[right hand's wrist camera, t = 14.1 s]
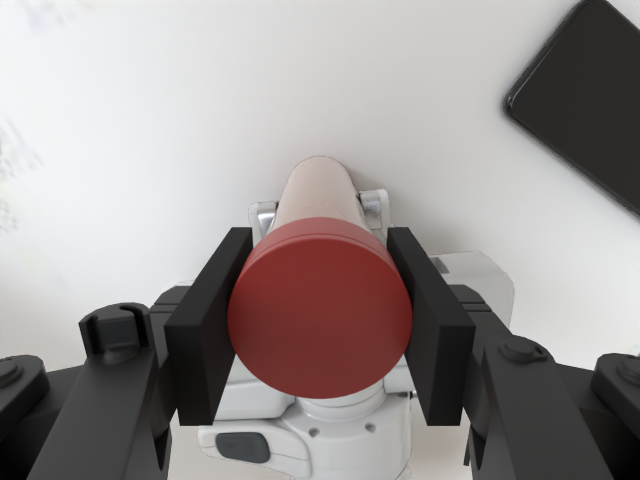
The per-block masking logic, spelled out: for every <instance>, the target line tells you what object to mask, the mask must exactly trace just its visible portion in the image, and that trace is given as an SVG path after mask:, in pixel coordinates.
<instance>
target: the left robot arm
mask: <svg viewBox="0 0 640 480" xmlns="http://www.w3.org/2000/svg"><path fill="white" fill-rule="evenodd" d="M358 198H359V200H360V203H361V205H362V208H363V210H364V213H365V215H366V218H367V220H368V223H369V225H370V228H371V229H379V230H380V232H381V233H382V235H383V236H384V237H385V239H386V240H387V229H388V227H394V226H393V224H392V223H391V214H390V199H389V194H388V192H387V191H386V189H385V188H384V189H375V190H367V191H359V192H358ZM278 205H279V201H270V202H258V203H252V204H251V206H250V207H249V212H248V213H249V222H250V227H252V232H253V248H254V247H255V246H256V245H257V244H258V243H259V242H260V241H261V240H262V239H263V238H264V237H265V236H266V235H267V232H268V230H269V227H270V225H271V222H272V220H273V217H274V215H275V212H276V210H277V207H278ZM384 246H385V248H386V245H384ZM428 257H429V258H430V260H431V261H432V263H433V264H434V266H435V267H436V268H437V270H438V271H439V273H440V274H441V276H442V277H443V279H444V280H445V281H446V283H447V284H465V285H466V286H468V287H470V288H471V289H473V290H475V291H476V292H478V293H479V294H480V296H481V297H482V298H483V299H484V300H485V302H486V304H488V305H489V306H490V308H491V309H492V311H493V312H495V314H496V315H497V316H498V317H499V319H500V320H501V321H502V322H503V323H504V325H505V326H506V327H507V328H508V329H509V324H510V320H511V314H512V309H513V302H514V285H513V282H512V280H511V279H510V277H509V276H508V275H507V274H506V272H505V271H504V270H503V269H502V268H501V267H500V266H499V265H498V264H497V263H495V262H494V261H493V260H492V259H490V258H489V257H488V256H487V255H485V254H484V253H482V252H480V251H469V252H459V253H450V254H440V255H431V256H428ZM194 281H195V280H193V281H183V282H179V283H177V284H176V285H174V286H191V285H192V284H193V282H194ZM174 286H173V287H174ZM411 398H418V396H417V393H416V390H415V387H414V384H413V381H412V378H411V375H410V372H409V369H408V366H407V363H406V359H405V356H404V354H403V356H402V357H401V359H400V360H399V362H398V363H397V364H396V365H395V367H394V368H393V369H392V370H391V371H390V372H389V373H388V374H387V375H386V376H385V377H383V378H382V379H381V380H379V381H378V382H377V383H375V384H373V385H372V386H370V387H368V388H366V389H364V390H362V391H359V392H357V393H354V394H351V395H348V396H344V397H338V398H332V399H308V398H301V397H296V396H292V395H289V394H286V393H283V392H280V391H278V390H276V389H274V388H272V387H270V386H268V385H266V384H265V383H263V382H262V381H260V380H259V379H258V378H256V377H255V376H254V375H253V374H252V373H251V372H250V371H249V370H248V369H247V368H246V367H245V366H244V365H243V363H242V362H241V361H240V359H239V358H238V356H237V354H236V356H235V359H234V362H233V365H232V368H231V371H230V374H229V377H228V380H227V383H226V386H225V389H224V392H223V395H222V398H221V401H220V404H219V407H218V410H217V413H216V416H215V419H214V422H213V425H212V426H199V430H198V435H197V439H198V444H199V447H200V449H201V451H202V452H203V453H204V454H206V455H207V456H210V457H213V458H219V459H225V460H232V461H238V462H244V463H249V464H254V465H258V466H262V467H266V468H270V469H273V470H276V471H279V472H282V473H285V474H287V475H290V476H291V480H413V479H412V474H411V471H410V468H409V462H410V458H411V451H412V434H411V408H410V400H411Z"/></svg>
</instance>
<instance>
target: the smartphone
mask: <svg viewBox="0 0 640 480" xmlns="http://www.w3.org/2000/svg"><path fill="white" fill-rule="evenodd" d="M503 109H504V113H505V114H506V116H507V117H508V118H509V119H510V120H511V121H512V122H514V123H515V124H516V125H518V126H519V127H520V128H521V129H523V130H524V131H525V132H527V133H528V134H529V135H531V136H532V137H533V138H535V139H536V140H537V141H539V142H540V143H541V144H542V145H544V146H545V147H546V148H548V149H549V150H550V151H552V152H553V153H554V154H556V155H557V156H558V157H560V158H561V159H562V160H564V161H565V162H566V163H567V164H569V165H570V166H571V167H573V168H574V169H575V170H577V171H578V172H579V173H581V174H582V175H583V176H585V177H586V178H587V179H589V180H590V181H591V182H593V183H594V184H595V185H596V186H598V187H599V188H600V189H602V190H603V191H604V192H606V193H607V194H608V195H610V196H611V197H612V198H614V200H615V201H616V202H618V203H619V204H620V205H622V206H623V207H624V208H626V209H627V210H628V211H630V212H632V213H633V214H634V215H636V216H637V217H638V218H640V30H639V29H638V28H637V27H636V26H635V25H634V24H633V23H632V22H630V21H629V20H628V19H627V18H626V17H625V16H624V15H623V14H621V13H620V12H619V11H618V10H617V9H616V8H615V7H614V6H612V5H611V4H610V3H609V2H608V1H607V0H581V1H580V2H579V3H577V4H576V5H575V7H574V8H573V9H572V10H571V12H570V13H569V14H568V16H567V17H566V18H565V19H564V21H563V22H562V23H561V25H560V26H559V27H558V28H557V30H556V31H555V32H554V34H553V35H552V36H551V38H550V39H549V40H548V42H547V43H546V44H545V46H544V47H543V48H542V49H541V51H540V52H539V53H538V55H537V56H536V57H535V59H534V60H533V61H532V63H531V64H530V65H529V67H528V68H527V69H526V70H525V72H524V73H523V74H522V76H521V77H520V78H519V80H518V81H517V82H516V84H515V85H514V86H513V88H512V89H511V90H510V92H509V93H508V94H507V96H506V98H505V100H504V104H503Z"/></svg>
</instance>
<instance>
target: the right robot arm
mask: <svg viewBox="0 0 640 480" xmlns="http://www.w3.org/2000/svg"><path fill="white" fill-rule="evenodd" d="M253 249H254V248H253V232H252V227H232V228H231V229H230V231H229V232H228V234H227V235H226V236H225V238H224V239H223V241H222V242H221V244H220V245H219V247H218V248H217V249H216V251H215V252H214V254H213V255H212V257H211V258H210V259H209V261H208V262H207V264H206V265H205V267H204V268H203V270H202V271H201V272H200V274H199V275H198V277H197V278H196V280H195V281H194V282H193V284H192V285H191V286H174V287H172V288H171V289H169V290H167V291H166V292H164V293H162V294H161V296H160V297H159V298H158V299H157V300H156V302H155V303H154V305H152V307H151V308H150V309H149V308H148V307H146V306H145V305H143V304H139V303H134V302H133V303H118V304H113V305H108V306H106V307H103V308H100V309H97V310H95V311H93V312H92V313H90V314H88V315H86V316H85V317H84V318H83V319H82V320H81V321H80V322H79V323H78V324H79V327H80V331H81V335H82V339H83V343H84V347H85V351H86V355H87V359H86V361H85V363H84V365H81V366H77V367H72V368H67V369H62V370H57V371H52V372H46V370H45V367H44V364H43V361H42V360H41V359H40V358H38V357H37V356H32V355H20V356H11V357H6V358H5V359H3V358H2V359H0V480H167V477H168V469H169V461H170V453H171V445H172V436H171V429H170V424H169V423H170V421H171V419H172V417H173V415H174V413H175V411H176V408H177V411H178V417H179V423H180V426H212V425H213V422H214V419H215V416H216V413H217V410H218V407H219V404H220V401H221V398H222V395H223V392H224V389H225V386H226V383H227V380H228V377H229V374H230V371H231V368H232V365H233V362H234V359H235V356H236V352H235V351H234V349H233V346H232V344H231V341H230V338H229V333H228V324H227V308H228V303H229V299H230V296H231V293H232V291H233V288H234V286H235V284H236V282H237V279H238V277H239V275H240V273H241V271H242V269H243V266H244V264H245V262H246V260H247V258H248V256H249V255H250V253H251V251H252V250H253ZM386 249H387V251H388V252H389V253H390V255H391V257H392V259H393V261H394V263H395V265H396V267H397V269H398V271H399V273H400V276H401V278H402V280H403V282H404V284H405V286H406V289H407V291H408V294H409V297H410V300H411V304H412V310H413V321H412V331H411V337H410V340H409V343H408V346H407V348H406V350H405V352H404V356H405V359H406V363H407V366H408V369H409V372H410V375H411V378H412V381H413V384H414V387H415V390H416V393H417V396H418V399H419V402H420V405H421V408H422V411H423V414H424V417H425V420H426V423H427V426H460V421H461V415H462V409H463V407H464V409H465V411H466V413H467V416H468V418H469V420H470V422H471V424H470V429H469V435H468V440H467V446H466V452H465V457H464V464H463V465H466V466H469V461H470V460H471V468H472V476H473V480H640V357H635V356H633V355H629V354H618V353H610V354H603V355H602V356H601V357H599V358H598V359H597V363H596V366H595V369H594V371H592V370H587V369H582V368H577V367H572V366H567V365H562V364H558V363H556V362H555V360H554V358H553V357H552V355H551V354H550V353H549V352H548V350H547V349H545V348H544V347H542V346H541V345H540V344H538V343H537V342H534V341H532V340H529V339H527V338H525V337H521V336H516V335H513V334H512V333H511V332H510V331H509V329H508V328H507V327H506V326H505V325H504V323H503V322H502V321H501V320H500V319H499V317H498V316H497V315H496V314H495V312H493V311H492V309H491V308H490V306H489V305H488V304H486V302H485V300H484V299H483V298H482V297H481V296H480V294H479V293H478V292H476V291H475V290H473V289H471V288H470V287H468V286H466V285H465V284H447V283H446V281H445V280H444V279H443V277H442V276H441V274H440V273H439V271H438V270H437V268H436V267H435V266H434V264H433V263H432V261H431V260H430V258H429V257H428V256H427V254H426V253H425V251H424V250H423V248H422V247H421V245H420V244H419V243H418V241H417V240H416V238H415V237H414V235H413V234H412V233H411V231H410V230H409V228H408V227H388V229H387V244H386Z"/></svg>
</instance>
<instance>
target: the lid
mask: <svg viewBox="0 0 640 480" xmlns="http://www.w3.org/2000/svg"><path fill="white" fill-rule="evenodd" d="M412 321H413V310H412V304H411V300H410V297H409V294H408V291H407V289H406V286H405V284H404V282H403V280H402V278H401V276H400V273H399V271H398V269H397V267H396V265H395V263H394V261H393V259H392V257H391V255H390V253H389V252H388V251H387V249H386V248H385V246H384V245H383V244H382V243H381V242H380V241H379V240H378V239H377V238H376V237H375V236H373V235H372V234H371V233H370V232H368V231H366V230H365V229H363V228H361V227H360V226H358V225H355V224H353V223H351V222H348V221H344V220H341V219H336V218H329V217H312V218H304V219H300V220H295V221H292V222H290V223H287V224H284V225H282V226H280V227H278V228H277V229H275V230H273V231H272V232H270V233H269V234H268V235H266V236H265V237H264V238H263V239H262V240H261V241H260V242H259V243H258V244H257V245H256V246H255V247H254V249H253V250H252V251H251V253H250V255H249V256H248V258H247V260H246V262H245V264H244V266H243V269H242V271H241V273H240V275H239V277H238V279H237V282H236V284H235V286H234V288H233V291H232V293H231V296H230V299H229V303H228V308H227V324H228V333H229V338H230V341H231V344H232V346H233V349H234V351H235V352H236V354H237V356H238V358H239V359H240V361H241V362H242V363H243V365H244V366H245V367H246V368H247V369H248V370H249V371H250V372H251V373H252V374H253V375H254V376H255V377H256V378H258V379H259V380H260V381H262V382H263V383H265V384H266V385H268V386H270V387H272V388H274V389H276V390H278V391H280V392H283V393H286V394H289V395H292V396H296V397H301V398H308V399H332V398H338V397H344V396H348V395H351V394H354V393H357V392H359V391H362V390H364V389H366V388H368V387H370V386H372V385H373V384H375V383H377V382H378V381H379V380H381V379H382V378H383V377H385V376H386V375H387V374H388V373H389V372H390V371H391V370H392V369H393V368H394V367H395V365H396V364H397V363H398V362H399V360H400V359H401V357H402V356H403V354H404V352H405V350H406V348H407V346H408V343H409V340H410V337H411V331H412Z"/></svg>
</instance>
